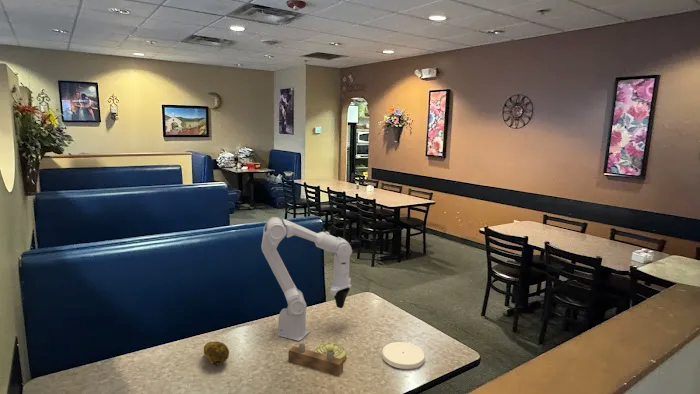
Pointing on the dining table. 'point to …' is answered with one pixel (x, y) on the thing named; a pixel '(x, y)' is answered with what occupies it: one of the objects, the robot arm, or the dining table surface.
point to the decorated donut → (331, 349)
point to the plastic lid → (403, 355)
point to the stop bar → (315, 360)
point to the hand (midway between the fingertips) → (340, 307)
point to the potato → (216, 352)
